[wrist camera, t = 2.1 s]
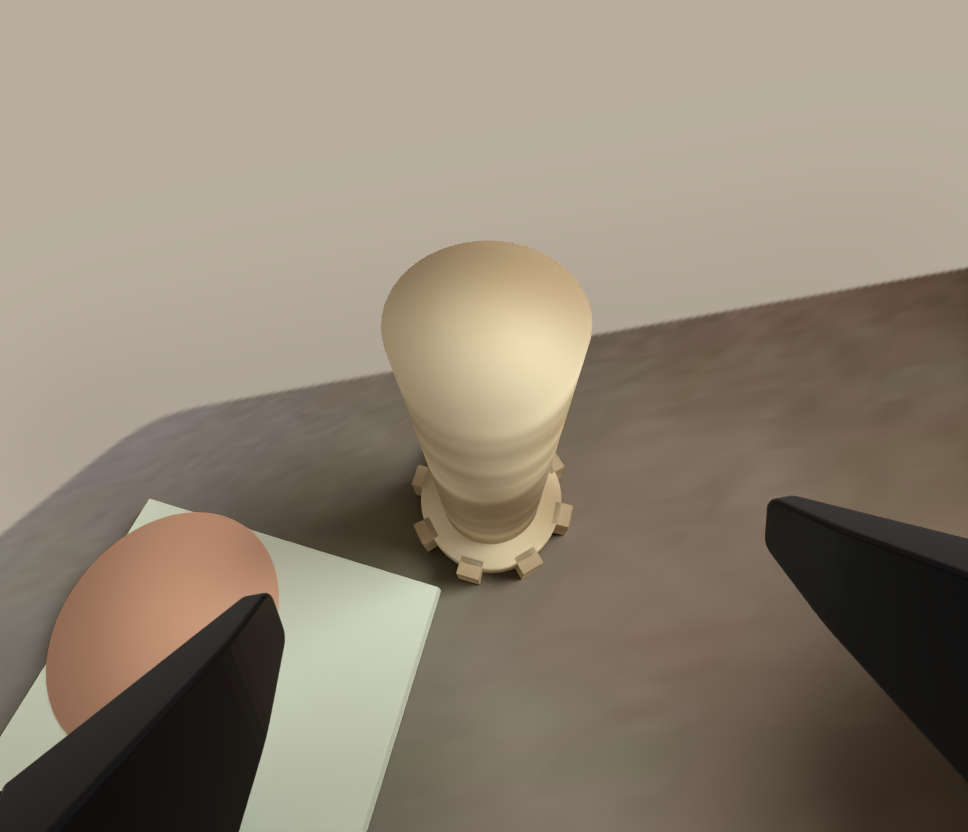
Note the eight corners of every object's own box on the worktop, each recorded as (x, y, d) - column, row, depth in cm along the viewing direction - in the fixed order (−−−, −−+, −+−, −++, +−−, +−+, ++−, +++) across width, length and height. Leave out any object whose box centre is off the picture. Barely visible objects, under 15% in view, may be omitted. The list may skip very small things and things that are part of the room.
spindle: (548, 605, 18) (641, 536, 7) (393, 558, 19) (242, 427, 8) (580, 456, 21) (682, 227, 10) (443, 421, 22) (387, 175, 11)
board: (227, 1283, 12) (198, 1353, 10) (-184, 1046, 13) (-246, 1083, 12) (442, 585, 19) (439, 581, 18) (156, 498, 21) (137, 489, 20)
